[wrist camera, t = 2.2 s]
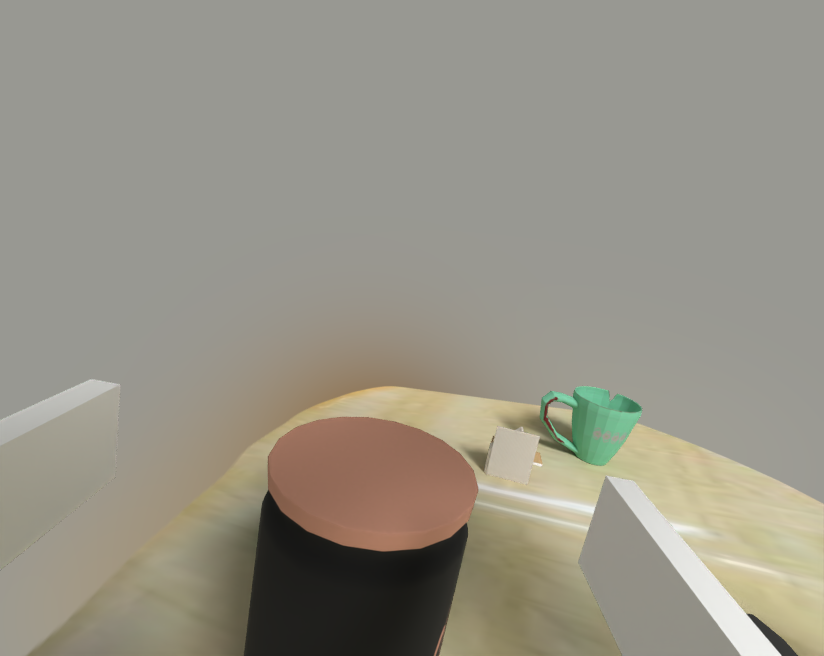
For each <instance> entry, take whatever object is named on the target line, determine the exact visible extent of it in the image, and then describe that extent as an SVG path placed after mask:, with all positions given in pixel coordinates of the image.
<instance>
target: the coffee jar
mask: <svg viewBox="0 0 824 656" xmlns="http://www.w3.org/2000/svg"><path fill="white" fill-rule="evenodd" d="M477 493H478V486H477V482H476V478H475V474H474V470H473V469H472V468H471V467H470V465H469V464H468V463H467V461H466V460H465V459H464V458H463V456H462V455H461V454H460V453H459V452H457V451H456V450H455V449H453V448H452V447H451V446H449V445H448V444H447V443H445V442H444V441H443V440H441V439H439V438H436V437H434V436H432V435H430V434H428V433H426V432H424V431H422V430H420V429H417V428H414V427H410V426H407V425H404V424H401V423H397V422H393V421H387V420H381V419H375V418H369V417H337V418H329V419H322V420H316V421H313V422H310V423H307V424H304V425H301V426H298V427H296V428H294V429H293V430H291V431H290V432H288V433H287V434H285V435H284V436H282V437H281V438H279V440H278V441H277V443H276V444H275V446H274V448H273V449H272V451H271V453H270V454H269V456H268V492H267V494H266V496H265V498H264V500H263V503H262V509H261V517H260V525H259V534H258V542H257V551H256V559H255V567H254V576H253V584H252V593H251V601H250V609H249V618H248V626H247V634H246V643H245V651H244V656H439V654H440V650H441V646H442V642H443V637H444V633H445V629H446V625H447V621H448V617H449V612H450V608H451V604H452V600H453V596H454V592H455V587H456V583H457V579H458V575H459V571H460V567H461V562H462V558H463V554H464V550H465V546H466V542H467V537H468V527H467V522H468V521H469V518H470V515H471V512H472V509H473V506H474V503H475V500H476V496H477Z"/></svg>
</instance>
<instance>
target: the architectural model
mask: <svg viewBox="0 0 824 656" xmlns="http://www.w3.org/2000/svg"><path fill="white" fill-rule="evenodd" d="M493 439H494V442H493ZM539 439H540V436H537V435H533V434H529V433H525V432H524V431H523V427H520V428H518V429H516V430H512V429H508V428H504V427H500V426H497V430H496V434H495V438H494V436H493V438H492V441H491V443H490V446H489V451H488V455H487V459H486V463H485V469H484V473H486V474H487V475H491V476H495V477H499V478H503V479H507V480H511V481H514V482H518V483H522V484H526V485H527V484H528V480H529V476H530V472H531V469H532V465H533V464H534V465H538V466H542V460H541V456H540V453H538V452H536V450H537V446H538V442H539Z"/></svg>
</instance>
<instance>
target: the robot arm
mask: <svg viewBox="0 0 824 656" xmlns="http://www.w3.org/2000/svg"><path fill="white" fill-rule="evenodd" d="M119 398H120V385H119V384H114V383H109V382H104V381H99V380H93V379H90V380H88V381H86V382H84V383H81V384H79V385H77V386H75V387H72V388H70V389H68V390H66V391H64V392H61V393H59V394H57V395H55V396H52V397H50V398H48V399H46V400H44V401H41V402H39V403H37V404H35V405H33V406H30V407H28V408H26V409H24V410H21V411H19V412H17V413H15V414H13V415H10V416H8V417H6V418H4V419H1V420H0V570H1V569H2V568H4V567H5V566H6V565H8V564H9V563H10V562H11V561H12V560H14V559H15V558H16V557H17V556H19V555H20V554H21V553H22V552H24V551H25V550H26V549H27V548H29V547H30V546H31V545H32V544H33V543H35V542H36V541H37V540H38V539H40V538H41V537H42V536H43V535H45V534H46V533H47V532H48V531H50V530H51V529H52V528H53V527H55V526H56V525H57V524H58V523H60V522H61V521H62V520H63V519H64V518H66V517H67V516H68V515H69V514H71V513H72V512H73V511H74V510H75V509H77V508H78V507H79V506H80V505H82V504H83V503H84V502H85V501H87V500H88V499H89V498H90V497H92V496H93V495H94V494H95V493H97V492H98V491H99V490H100V489H102V488H103V487H104V486H105V485H107V484H108V483H109V482H110V481H112V480H113V479H114V478H115V474H116V455H117V435H118V417H119ZM578 563H579V565H580V567H581V569H582V571H583V574H584V576H585V578H586V580H587V582H588V584H589V586H590V588H591V590H592V593H593V595H594V597H595V599H596V601H597V603H598V605H599V607H600V609H601V612H602V614H603V616H604V618H605V620H606V622H607V624H608V626H609V629H610V631H611V633H612V635H613V637H614V639H615V641H616V643H617V645H618V648H619V650H620V652H621V654H622V656H798V655H797V654H796V653H795V652H794V651H793V650H792V648H791V647H790V646H789V645H788V644H787V643H786V642H785V641H784V640H783V639H782V638H781V637H780V636H779V635H777V634H776V633H775V632H774V631H772V630H771V629H770V628H769V627H768V626H766V625H765V624H764V623H763V622H761V621H760V620H759V619H758V618H757V617H755V616H754V615H752V614H746V613H745V612H744V611H743V610H742V608H741V607H740V606H739V605H738V604H737V602H736V601H735V600H734V599H733V598H732V597H731V595H730V594H729V593H728V592H727V591H726V589H725V588H724V587H723V586H722V585H721V584H720V582H719V581H718V580H717V579H716V578H715V577H714V575H713V574H712V573H711V572H710V571H709V569H708V568H707V567H706V566H705V565H704V564H703V562H702V561H701V560H700V559H699V558H698V556H697V555H696V554H695V553H694V552H693V551H692V549H691V548H690V547H689V546H688V545H687V543H686V542H685V541H684V540H683V539H682V538H681V536H680V535H679V534H678V533H677V532H676V530H675V529H674V528H673V527H672V526H671V525H670V523H669V522H668V521H667V520H666V519H665V517H664V516H663V515H662V514H661V513H660V512H659V510H658V509H657V508H656V507H655V506H654V505H653V503H652V502H651V501H650V500H649V499H648V497H647V496H646V495H645V494H644V493H643V492H642V490H641V489H640V488H639V487H638V486H637V484H636V483H635V482H634V481H632V480H626V479H621V478H616V477H610V476H606V477H605V480H604V483H603V486H602V489H601V492H600V495H599V499H598V502H597V505H596V508H595V511H594V514H593V517H592V521H591V524H590V527H589V530H588V533H587V536H586V539H585V542H584V546H583V549H582V552H581V555H580V558H579V561H578Z"/></svg>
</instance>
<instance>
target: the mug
mask: <svg viewBox="0 0 824 656" xmlns="http://www.w3.org/2000/svg"><path fill="white" fill-rule="evenodd" d="M609 397H610V395H609V391H608V390H604V389H600V388H595V387H587V386H581V387H577V388H575V390H574V393H573V397H571V396H568V395H566V394H563V393H560V392H554V391H550V392H549V393H548V394H547V395H545V396H544V397H542V401H541V410H540V419H541V420H542V422H543V423H544V425H545V426H546V428H547V430H548V431H549V433H550V434H551V436H552V437H553V439H554V440H556V441H557V442H559V443H560V444H562V445H564V446H565V447H567V448H568V449H570V450H571V451H573V452H574V453H575V455H576V456H577V457H578V458H580V459H581V460H583V461H585V462H587V463H590V464H593V465H599V466H602V465H605V464H606V463H607V462H608V461H609V460H610V459H611V458H612V457H613V456H614V455H615V454H616V453H617V451H618V450H619V449H620V447H621V446H622V445H623V443H624V442H625V441H626V439H627V437H628V436H629V434H630V432H631V431H632V429H633V427H634V426H635V424H636V423H637V421H638V419H639V418H640V416H641V413H642V408H641V406H640V405H639V404H638V403H636V402H634V401H633V400H631V399H629V398H627V397H625V396H623V395H620V394H617V395H616V396H615V397H614V399H613V400H611V401H610V400H609ZM553 401H557V402H563V403H565V404H567V405H569V406H571V407H573V413H572V438H573V443H572V442H571V441H569V440H568V439H566V438H565V437H563V436H561V435H560V434H558V433H557V432H556V430H555V429H554V427H553V425H552V423H551V422H550V420H549V418H548V416H547V413H548V406H549V404H550V403H551V402H553Z"/></svg>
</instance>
